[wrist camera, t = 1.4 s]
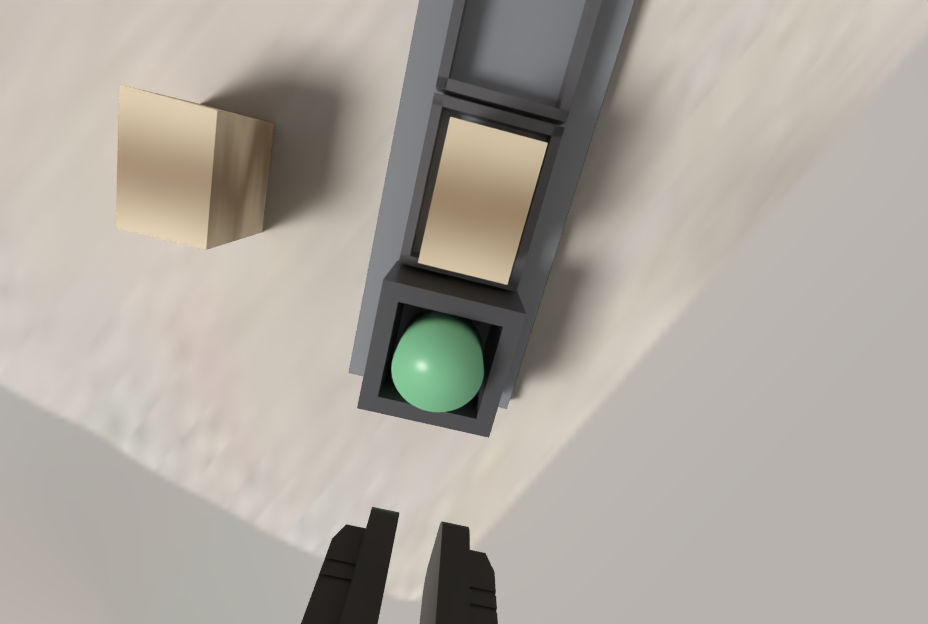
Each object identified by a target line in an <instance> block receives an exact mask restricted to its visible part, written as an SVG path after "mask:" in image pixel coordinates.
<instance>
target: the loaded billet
mask: <svg viewBox="0 0 928 624" xmlns="http://www.w3.org/2000/svg"><path fill="white" fill-rule="evenodd" d="M547 144H548V143H546V142H543V141H539V140H535V139H531V138H528V137H524V136H520V135H517V134H513V133H509V132H505V131H502V130H498V129H494V128H490V127H487V126H483V125H479V124H476V123H472V122H468V121H464V120H461V119H457V118H453V117H450V120H449V125H448V129H447V134H446V138H445V143H444V147H443V152H442V156H441V161H440V165H439V170H438V174H437V179H436V183H435V188H434V192H433V197H432V201H431V206H430V210H429V215H428V219H427V224H426V228H425V233H424V237H423V242H422V246H421V251H420V255H419V260H418V263H421V264H425V265H429V266H433V267H437V268H441V269H445V270H449V271H453V272H457V273H461V274H465V275H469V276H473V277H478V278H482V279H486V280H490V281H494V282H498V283H502V284H506V285H507V284H508V281H509V277H510V274H511V270H512V267H513V263H514V260H515V256H516V253H517V249H518V246H519V242H520V239H521V235H522V232H523V228H524V225H525V221H526V218H527V214H528V211H529V207H530V204H531V200H532V197H533V193H534V190H535V186H536V183H537V179H538V176H539V172H540V169H541V165H542V162H543V158H544V155H545V151H546V148H547Z"/></svg>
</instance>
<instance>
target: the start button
mask: <svg viewBox="0 0 928 624" xmlns="http://www.w3.org/2000/svg"><path fill="white" fill-rule="evenodd" d="M391 372H392V378H393V382H394V384H395V386H396V388H397V390H398V392H399V393H400V394H401V396H402V397H403V398H404V399H405V400H406V401H408V402H409V403H410V404H412V405H413V406H415V407H417V408H420V409H422V410H425V411H430V412H447V411H452V410H455V409H457V408H460V407H462V406H463V405H465V404H467V403H468V402H469V401H470V400H471V399H472V398H473V397H474V396H475V395H476V393H477V392H478V390H479V388H480V387H481V384H482V381H483V375H484V366H483V354H482V342H481V337H480V335H479V332H478V330H477V328H476V327H475V325H474V324H473V323H472V322H471V321H470V320H469V319H468V318H464V317H460V316H456V315H451V314H447V313H443V312H439V311H435V310H428V311H425V312H423V313H421V314H419V315H417V316H416V317H414V318H413V319H412V320H411V321H410V322H409V323H408V324H407V326H406V328H405V329H404V331H403V334H402V336H401V339H400V341H399V344H398V346H397V349H396V351H395V354H394V357H393V360H392V366H391Z"/></svg>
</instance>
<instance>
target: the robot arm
mask: <svg viewBox="0 0 928 624" xmlns="http://www.w3.org/2000/svg"><path fill="white" fill-rule="evenodd" d="M398 518H399V512H394V511H390V510H385V509H380V508H375V507H372V510H371V513H370V517H369V520H368V524H367V527H366V528H361V527H356V526H351V525H345V526H344V527H343V528H342V529H341V530H340V531H339V532H338V533H337V534H336V535H335V536H334V537H333V538H332V541H331V543H330V546H329V549H328V551H327V554H326V557H325V560H324V562H323V565H322V568H321V571H320V573H319V577H318V579H317V582H316V584H315V587H314V590H313V592H312V595H311V598H310V601H309V603H308V606H307V609H306V612H305V614H304V617H303V620H302V623H301V624H378V619H379V614H380V608H381V603H382V598H383V593H384V588H385V583H386V578H387V573H388V568H389V563H390V558H391V553H392V548H393V543H394V538H395V533H396V528H397V523H398ZM494 575H495V574H494V570H493V568H492V566H491V564H490V562H489V560H488V558H487V556H486V553H482V552H477V551H473V550H470V533H469V527H466V526H461V525H456V524H452V523H447V522H441V523H440V526H439V530H438V533H437V537H436V540H435V544H434V547H433V551H432V554H431V557H430V561H429V564H428V568H427V573H426V577H425V583H424V589H423V597H422V607H421V616H420V624H498V621H497V613H496V609H497V606H496V596H495V592H496V590H495V576H494Z"/></svg>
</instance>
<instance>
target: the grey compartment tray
mask: <svg viewBox="0 0 928 624" xmlns="http://www.w3.org/2000/svg"><path fill="white" fill-rule="evenodd" d="M633 3H634V0H419V5H418V10H417V15H416V20H415V26H414V31H413V36H412V41H411V47H410V52H409V57H408V62H407V68H406V73H405V78H404V84H403V89H402V94H401V99H400V105H399V110H398V115H397V120H396V126H395V131H394V136H393V141H392V147H391V152H390V157H389V162H388V168H387V173H386V178H385V183H384V189H383V194H382V199H381V205H380V210H379V215H378V220H377V226H376V231H375V236H374V241H373V247H372V252H371V257H370V262H369V268H368V273H367V278H366V283H365V289H364V294H363V299H362V304H361V310H360V315H359V320H358V325H357V331H356V336H355V341H354V347H353V352H352V357H351V362H350V368H349V373H351V374H356V375H360V376H364V377H363V382H362V387H361V392H360V397H359V402H358V407H357V408H359V409H363V410H368V411H372V412H377V413H381V414H386V415H390V416H395V417H399V418H404V419H408V420H413V421H417V422H422V423H426V424H431V425H435V426H440V427H444V428H449V429H453V430H458V431H462V432H467V433H471V434H476V435H480V436H485V437H489V435H490V432H491V429H492V425H493V422H494V419H495V415H496V412H497V409H498V407H501V408H505V409H507V407H508V404H509V401H510V397H511V394H512V391H513V388H514V385H515V381H516V378H517V375H518V372H519V368H520V365H521V362H522V359H523V356H524V352H525V349H526V346H527V343H528V340H529V336H530V333H531V330H532V327H533V324H534V320H535V317H536V314H537V311H538V308H539V304H540V301H541V298H542V295H543V292H544V288H545V285H546V282H547V279H548V276H549V272H550V269H551V266H552V263H553V260H554V256H555V253H556V250H557V247H558V244H559V240H560V237H561V234H562V231H563V228H564V224H565V221H566V218H567V215H568V212H569V208H570V205H571V202H572V199H573V195H574V192H575V189H576V186H577V183H578V179H579V176H580V173H581V170H582V167H583V163H584V160H585V157H586V154H587V151H588V147H589V144H590V141H591V138H592V135H593V131H594V128H595V125H596V122H597V119H598V115H599V112H600V109H601V106H602V103H603V99H604V96H605V93H606V90H607V87H608V83H609V80H610V77H611V74H612V71H613V67H614V64H615V61H616V58H617V55H618V51H619V48H620V45H621V42H622V38H623V35H624V32H625V29H626V26H627V22H628V19H629V16H630V13H631V10H632V6H633ZM450 117H453V118H457V119H461V120H464V121H468V122H472V123H476V124H479V125H483V126H487V127H490V128H494V129H498V130H502V131H505V132H509V133H513V134H517V135H520V136H524V137H528V138H531V139H535V140H539V141H543V142H546V143H548V144H547V148H546V151H545V155H544V158H543V162H542V165H541V169H540V172H539V176H538V179H537V183H536V186H535V190H534V193H533V197H532V200H531V204H530V207H529V211H528V214H527V218H526V221H525V225H524V228H523V232H522V235H521V239H520V242H519V246H518V249H517V253H516V256H515V260H514V263H513V267H512V270H511V274H510V277H509V281H508V284H507V285H506V284H502V283H498V282H494V281H490V280H486V279H482V278H478V277H473V276H469V275H465V274H461V273H457V272H453V271H449V270H445V269H441V268H437V267H433V266H429V265H425V264H421V263H418V260H419V255H420V251H421V246H422V242H423V237H424V233H425V228H426V224H427V219H428V215H429V210H430V206H431V201H432V197H433V192H434V188H435V183H436V179H437V174H438V170H439V165H440V161H441V156H442V152H443V147H444V143H445V138H446V134H447V129H448V125H449V120H450ZM428 310H435V311H439V312H443V313H447V314H451V315H456V316H460V317H464V318H468V319H469V320H470V321H471V322H472V323H473V324H474V325H475V327H476V328H477V330H478V332H479V335H480V337H481V342H482V354H483V366H484V375H483V381H482V384H481V387H480V388H479V390H478V392H477V393H476V395H475V396H474V397H473V398H472V399H471V400H470V401H469V402H468V403H467V404H465V405H463V406H462V407H460V408H457V409H455V410H452V411H447V412H430V411H425V410H422V409H420V408H417V407H415V406H413V405H412V404H410V403H409V402H408V401H406V400H405V399H404V398H403V397H402V396H401V394H400V393H399V392H398V390H397V388H396V386H395V384H394V382H393V378H392V372H391V366H392V360H393V357H394V354H395V351H396V349H397V346H398V344H399V341H400V339H401V336H402V334H403V331H404V329H405V328H406V326H407V324H408V323H409V322H410V321H411V320H412V319H413V318H414V317H416V316H417V315H419V314H421V313H423V312H425V311H428Z"/></svg>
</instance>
